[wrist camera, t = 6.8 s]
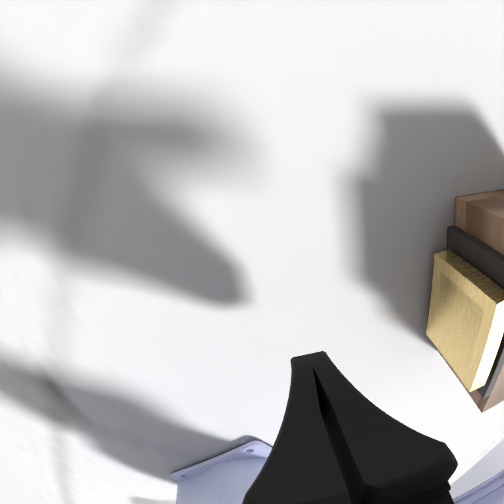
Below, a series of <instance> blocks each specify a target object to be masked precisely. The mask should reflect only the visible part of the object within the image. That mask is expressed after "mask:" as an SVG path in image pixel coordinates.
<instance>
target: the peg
mask: <svg viewBox="0 0 504 504" xmlns="http://www.w3.org/2000/svg"><path fill="white" fill-rule="evenodd" d="M503 332H504V290H503V289H502V288H501V287H500V286H498V285H497V284H496V283H494V282H493V281H492V280H491V279H489V278H488V277H487V276H485V275H484V274H483V273H481V272H480V271H479V270H477V269H476V268H475V267H473V266H472V265H471V264H469V263H468V262H466V261H465V260H464V259H462V258H461V257H459V256H458V255H457V254H455V253H454V252H452V251H451V250H446V251H442V252H438V253H434V268H433V280H432V291H431V300H430V308H429V316H428V323H427V330H426V335H427V336H428V337H429V338H430V340H431V341H432V342H433V344H434V345H435V346H436V347H437V349H438V350H439V351H440V353H441V354H442V355H443V357H444V358H445V359H446V361H447V362H448V363H449V365H450V366H451V367H452V369H453V370H454V371H455V373H456V374H457V376H458V377H459V378H460V380H461V381H462V382H463V384H464V385H465V387H466V388H467V390H468V391H469V392H471V391H473V390H475V389H477V388H479V387H481V386H483V385H485V383H486V380H487V378H488V375H489V373H490V370H491V367H492V365H493V362H494V359H495V356H496V354H497V351H498V348H499V345H500V342H501V339H502V335H503Z"/></svg>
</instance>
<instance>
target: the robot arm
mask: <svg viewBox="0 0 504 504" xmlns="http://www.w3.org/2000/svg"><path fill="white" fill-rule="evenodd" d="M291 368H292V374H291V386H290V392H289V398H288V403H287V407H286V411H285V415H284V418H283V422H282V425H281V428H280V430H279V433H278V436H277V438H276V441H275V443H274V445H273V448H272V447H270V446H268V445H266V444H264V443H262V442H260V441H251V442H249V443H247V444H245V445H242V446H240V447H238V448H236V449H233V450H231V451H229V452H226V453H224V454H222V455H219V456H217V457H214V458H212V459H209V460H207V461H204V462H202V463H199V464H196V465H194V466H191V467H188V468H186V469H183V470H180V471H177V472H174V473H172V474H171V476H170V478H171V479H172V480H174V481H176V482H178V488H177V498H176V504H504V470H502V471H501V472H500V473H498V474H496V475H495V476H493V477H491V478H490V479H488V480H487V481H485V482H483V483H482V484H480V485H478V486H476V487H475V488H473V489H471V490H469V491H467V492H466V493H464V494H462V495H460V496H458V497H456V498H454V499H452V498H451V495H450V493H449V490H450V489H451V487H450V485H449V482H448V480H449V478H450V477H451V476H452V474H453V473H454V471H455V470H456V468H457V465H458V463H457V460H456V458H455V456H454V455H453V453H452V452H451V450H450V449H449V448H448V447H447V445H446V444H445V443H443V442H441V441H438V440H435V439H433V438H430V437H428V436H425V435H423V434H421V433H419V432H417V431H415V430H413V429H411V428H409V427H407V426H406V425H404V424H402V423H400V422H399V421H397V420H395V419H394V418H392V417H391V416H389V415H388V414H386V413H385V412H383V411H382V410H381V409H379V408H378V407H377V406H375V405H374V404H373V403H372V402H370V401H369V400H368V399H367V398H366V397H365V396H364V395H362V394H361V393H360V392H359V391H358V390H357V389H356V388H355V387H354V386H353V385H352V384H351V383H350V382H349V381H348V380H347V379H346V378H345V377H344V375H343V374H342V373H341V372H340V371H339V370H338V368H337V367H336V366H335V365H334V364H333V362H332V361H331V360H330V358H329V357H328V355H327V354H326V352H324V351H321V352H316V353H312V354H307V355H302V356H297V357H293V358H292V359H291Z"/></svg>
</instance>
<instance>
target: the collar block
mask: <svg viewBox="0 0 504 504" xmlns="http://www.w3.org/2000/svg"><path fill="white" fill-rule="evenodd" d="M447 250H451V251H452V252H454V253H455V254H457V255H458V256H459V257H461V258H462V259H464V260H465V261H466V262H468V263H469V264H471V265H472V266H473V267H475V268H476V269H477V270H479V271H480V272H481V273H483V274H484V275H485V276H487V277H488V278H489V279H491V280H492V281H493V282H494V283H496V284H497V285H498V286H500V287H501V288H502V289H503V290H504V190H497V191H491V192H485V193H478V194H472V195H466V196H459V197H455V226H451V227H448V233H447ZM439 353H440V351H439ZM440 355H441V356H442V357H443V355H442V354H441V353H440ZM443 359H444V360H445V361H446V359H445V358H444V357H443ZM446 363H447V364H448V365H449V363H448V362H447V361H446ZM449 367H450V368H451V370H452V371H453V372H454V374H455V375H456V376H457V374H456V373H455V371H454V370H453V369H452V367H451V366H450V365H449ZM457 378H458V379H459V381H460V382H461V383H462V385H463V386H464V388H465V389H466V391H467V392H468V393H469V395H470V396H471V398H472V399H473V401H474V402H475V404H476V405H477V407H478V408H479V409H480V411H481V412H484V411H486V410H488V409H489V408H491V407H493V406H495V405H496V404H498V403H500V402H502V401H503V400H504V332H503V335H502V339H501V342H500V345H499V348H498V351H497V354H496V356H495V359H494V362H493V365H492V367H491V370H490V373H489V375H488V378H487V380H486V383H485V385H483V386H481V387H479V388H477V389H475V390H473V391H471V392H469V391H468V390H467V388H466V387H465V385H464V384H463V382H462V381H461V380H460V378H459V377H458V376H457Z"/></svg>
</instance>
